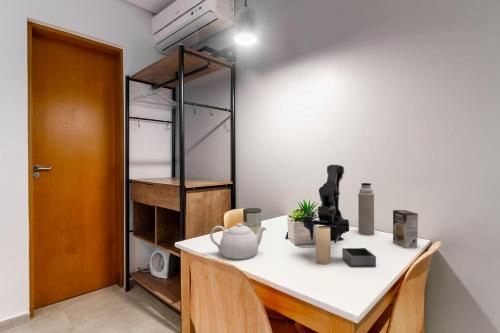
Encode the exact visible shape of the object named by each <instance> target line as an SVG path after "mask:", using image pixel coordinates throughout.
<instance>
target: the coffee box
mask: <svg viewBox="0 0 500 333" xmlns="http://www.w3.org/2000/svg"><path fill="white" fill-rule="evenodd" d="M418 224H419V214H418V213H416V212H414V211H413V212H412V211H410V210H405V209H393V210H392V226H393V227H392V242H393V243H394V244H396V245H398V246H400V247H402V248H404V249H412V248H413V249H415V248H416V249H417V248H418V236H419V235H418V232H419V230H418V229H419V228H418V227H419V226H418Z"/></svg>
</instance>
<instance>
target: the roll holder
mask: <svg viewBox="0 0 500 333" xmlns="http://www.w3.org/2000/svg"><path fill="white" fill-rule="evenodd" d="M341 250H342V253H341V254H342V256H341V257H342V259H343V260H344V261H345V263H346V264H348V265H349V267H350V268H373V267H374V268H377V267H376V266H377V256H376V255H375V254H374V253H372V252H371V251H370V250H368V249H367V248H365V247H358V248H356V247H350V248H349V247H348V248H347V247H345V248H341Z"/></svg>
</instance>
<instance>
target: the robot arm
mask: <svg viewBox="0 0 500 333" xmlns="http://www.w3.org/2000/svg"><path fill="white" fill-rule="evenodd" d="M326 174H327V178H326V182H324V183H323V184H322V186H320V187H319V189H318V195H319V199H320V202H321V204H320V205H321V206H318V207H317V218H318V219H314V217H313V216H312V215H311V216H310V215H308V216H307V215H304V216H303V217H302V225H303V227H304V228H305V229H306V230H308V231H309V234H310V240H311V242H312V241H314V240H313V239H314V236H315V235H314V234H315V229H314V227H315V225H316V226H328V227H330V241H333V242H334V244H336V243H337V242H338V241H340V240H344V237H342V235H343V234H346V233H348V232H350V220H348V218H347V219H346V218H343V215H342V212H341V211H340V209H339V206H340V204H339V203H340V195H341V194H340V193H341V192H340V182H341V181H342V179H343V176H344V174H345V167H344V166H342V165H341V164H340V165H339V164H329V165H327V167H326Z"/></svg>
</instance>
